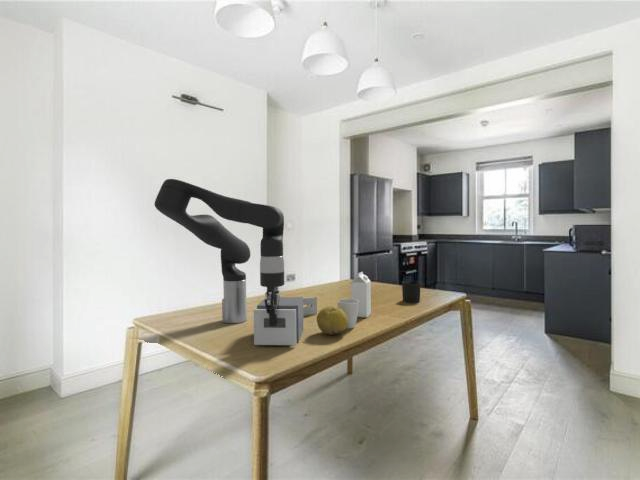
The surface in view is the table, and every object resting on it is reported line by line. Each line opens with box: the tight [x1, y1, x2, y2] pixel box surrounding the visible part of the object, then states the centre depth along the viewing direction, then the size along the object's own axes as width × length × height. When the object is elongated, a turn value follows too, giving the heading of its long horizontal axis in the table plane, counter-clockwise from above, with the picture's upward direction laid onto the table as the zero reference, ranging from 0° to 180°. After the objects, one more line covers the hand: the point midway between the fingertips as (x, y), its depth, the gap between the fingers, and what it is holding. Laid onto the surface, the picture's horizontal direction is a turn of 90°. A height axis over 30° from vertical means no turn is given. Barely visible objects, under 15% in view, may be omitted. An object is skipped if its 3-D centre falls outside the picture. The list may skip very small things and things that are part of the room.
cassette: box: [303, 296, 318, 317], centre depth 157 cm, size 12×2×8 cm, turn 113°
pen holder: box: [401, 280, 421, 303], centre depth 185 cm, size 9×9×10 cm
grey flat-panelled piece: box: [253, 308, 297, 346], centre depth 121 cm, size 14×15×11 cm
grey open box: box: [256, 296, 304, 343], centre depth 127 cm, size 14×15×12 cm
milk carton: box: [350, 271, 372, 318], centre depth 155 cm, size 7×7×19 cm
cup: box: [337, 298, 358, 329], centre depth 137 cm, size 8×8×10 cm
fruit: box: [316, 305, 348, 335], centre depth 128 cm, size 11×12×10 cm
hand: (273, 325), depth 111 cm, fingers closed
